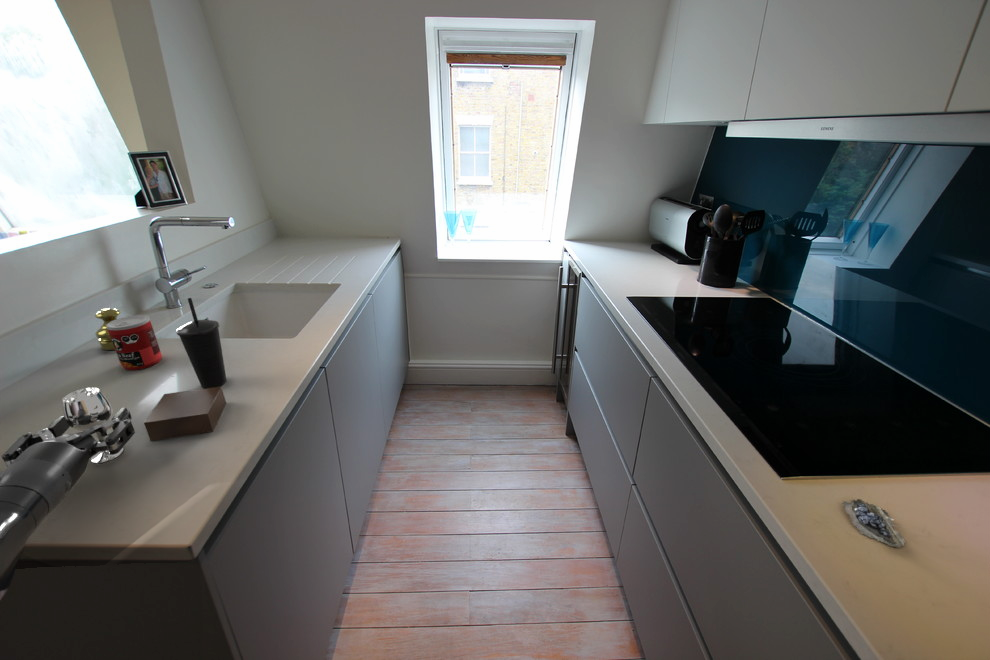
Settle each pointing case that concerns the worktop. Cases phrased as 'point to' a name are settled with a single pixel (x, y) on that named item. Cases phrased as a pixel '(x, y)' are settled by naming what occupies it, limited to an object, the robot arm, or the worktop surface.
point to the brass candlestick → (102, 333)
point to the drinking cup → (204, 349)
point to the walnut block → (185, 413)
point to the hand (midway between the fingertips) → (96, 416)
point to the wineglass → (89, 414)
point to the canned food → (134, 342)
